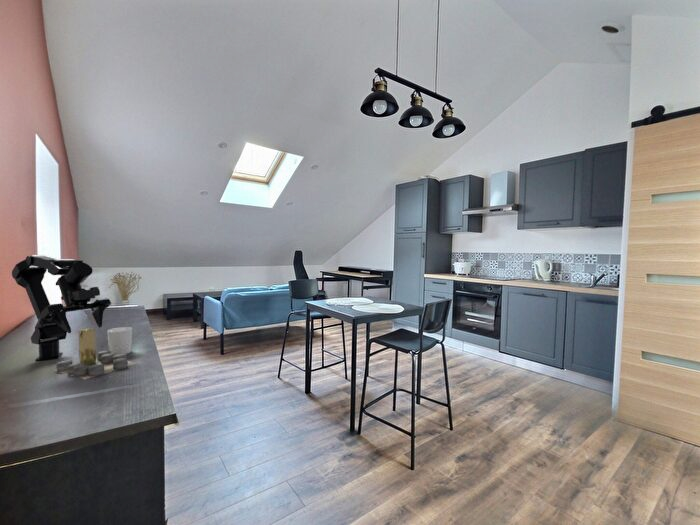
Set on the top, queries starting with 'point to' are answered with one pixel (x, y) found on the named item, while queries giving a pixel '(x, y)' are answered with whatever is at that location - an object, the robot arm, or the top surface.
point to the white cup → (120, 340)
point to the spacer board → (103, 365)
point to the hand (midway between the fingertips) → (85, 329)
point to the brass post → (87, 346)
